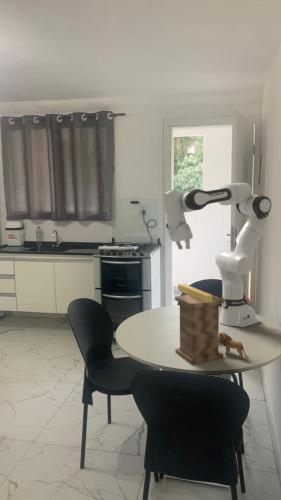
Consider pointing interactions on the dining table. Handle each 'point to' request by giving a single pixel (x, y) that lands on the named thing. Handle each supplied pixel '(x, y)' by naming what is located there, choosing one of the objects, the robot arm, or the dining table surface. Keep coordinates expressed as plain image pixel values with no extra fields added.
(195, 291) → the mustard rod
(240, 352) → the lion figurine
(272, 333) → the dining table surface
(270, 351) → the dining table surface
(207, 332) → the walnut pedestal
